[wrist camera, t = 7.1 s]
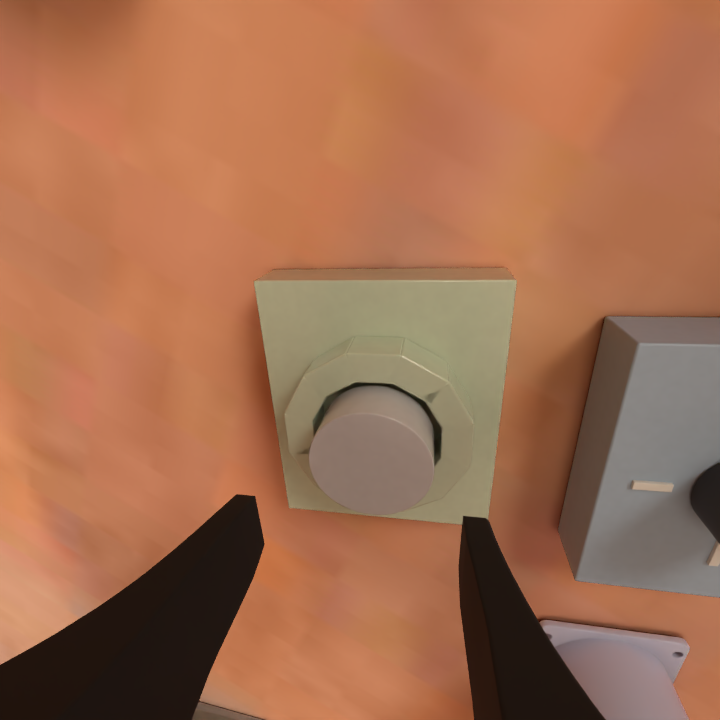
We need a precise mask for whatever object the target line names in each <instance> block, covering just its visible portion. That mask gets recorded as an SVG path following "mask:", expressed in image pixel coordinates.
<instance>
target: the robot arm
mask: <svg viewBox="0 0 720 720" xmlns="http://www.w3.org/2000/svg"><path fill="white" fill-rule="evenodd" d="M263 547H264V539H263V534H262V529H261V524H260V519H259V514H258V509H257V504H256V499H255V496H248V495H238V494H237V495H235V496H234V497H233V498H232V499H231V500H230V501H229V502H227V503H226V504H225V505H224V506H223V507H222V508H221V509H220V510H219V511H217V512H216V513H215V514H214V515H213V516H212V517H211V518H210V519H209V520H207V521H206V522H205V523H204V524H203V525H202V526H201V527H200V528H199V529H197V530H196V531H195V532H194V533H193V534H192V535H191V536H189V537H188V538H187V539H186V540H185V541H184V542H182V543H181V544H180V545H179V546H178V547H177V548H176V549H174V550H173V551H172V552H171V553H170V554H168V555H167V556H166V557H165V558H163V559H162V560H161V561H160V562H158V563H157V564H156V565H155V566H153V567H152V568H151V569H150V570H149V571H147V572H146V573H145V574H143V575H142V576H141V577H140V578H138V579H137V580H136V581H134V582H133V583H132V584H130V585H129V586H127V587H126V588H125V589H123V590H122V591H120V592H119V593H118V594H116V595H115V596H113V597H112V598H110V599H109V600H108V601H106V602H105V603H103V604H102V605H100V606H99V607H97V608H96V609H94V610H93V611H91V612H89V613H88V614H86V615H85V616H83V617H82V618H80V619H78V620H77V621H75V622H74V623H72V624H70V625H69V626H67V627H66V628H64V629H63V630H61V631H59V632H58V633H56V634H54V635H53V636H51V637H49V638H48V639H46V640H44V641H42V642H41V643H39V644H37V645H35V646H34V647H32V648H30V649H28V650H27V651H25V652H23V653H21V654H19V655H18V656H16V657H14V658H12V659H10V660H8V661H7V662H5V663H3V664H1V665H0V720H192V718H193V715H194V713H195V710H196V707H197V704H198V702H199V699H200V696H201V694H202V691H203V688H204V686H205V683H206V680H207V678H208V675H209V673H210V670H211V668H212V666H213V663H214V661H215V659H216V656H217V654H218V652H219V650H220V648H221V646H222V644H223V642H224V639H225V637H226V635H227V633H228V631H229V629H230V627H231V625H232V622H233V620H234V618H235V616H236V614H237V612H238V610H239V608H240V606H241V603H242V601H243V599H244V597H245V595H246V593H247V590H248V588H249V586H250V584H251V582H252V579H253V577H254V574H255V571H256V568H257V566H258V563H259V560H260V557H261V553H262V550H263ZM459 590H460V609H461V617H462V624H463V632H464V640H465V648H466V655H467V663H468V671H469V678H470V686H471V693H472V702H473V712H474V720H689V718H688V716H687V714H686V712H685V710H684V707H683V705H682V703H681V701H680V699H679V697H678V695H677V692H676V690H675V688H674V686H673V682H674V680H675V678H676V676H677V674H678V672H679V670H680V668H681V666H682V664H683V662H684V660H685V658H686V656H687V654H688V652H689V650H690V647H689V645H688V644H687V642H686V640H684V639H683V638H680V637H673V636H666V635H658V634H651V633H643V632H635V631H628V630H620V629H613V628H605V627H598V626H590V625H583V624H575V623H568V622H560V621H553V620H542V621H540V622H539V621H538V620H537V618H536V616H535V615H534V613H533V611H532V610H531V608H530V606H529V604H528V602H527V601H526V599H525V597H524V595H523V593H522V592H521V590H520V588H519V586H518V584H517V582H516V580H515V578H514V577H513V575H512V573H511V571H510V569H509V567H508V565H507V563H506V560H505V558H504V556H503V554H502V552H501V550H500V548H499V545H498V543H497V541H496V538H495V536H494V533H493V531H492V528H491V525H490V522H489V521H488V520H487V519H486V518H482V517H471V516H463V522H462V534H461V545H460V557H459Z"/></svg>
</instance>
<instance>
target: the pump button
mask: <svg viewBox="0 0 720 720" xmlns="http://www.w3.org/2000/svg"><path fill="white" fill-rule="evenodd" d="M309 465H310V470H311V473H312V475H313V477H314V479H315V481H316V483H317V484H318V486H319V487H320V488H321V489H322V491H323V492H324V493H325V494H326V495H327V496H329V497H330V498H331V499H332V500H334V501H335V502H337V503H338V504H340V505H342V506H344V507H346V508H348V509H351V510H353V511H356V512H360V513H364V514H371V515H387V514H394V513H398V512H401V511H404V510H406V509H409V508H410V507H412V506H414V505H415V504H417V503H418V502H419V501H420V500H421V499H422V498H423V497H424V496H425V495H426V494H427V492H428V491H429V489H430V487H431V485H432V482H433V479H434V429H433V425H432V422H431V420H430V418H429V416H428V414H427V413H426V411H425V410H424V409H423V407H422V406H421V405H420V404H419V403H418V402H417V401H415V400H414V399H413V398H412V397H410V396H408V395H407V394H405V393H403V392H401V391H399V390H396V389H393V388H390V387H385V386H378V385H367V386H360V387H356V388H353V389H350V390H348V391H346V392H344V393H342V394H340V395H339V396H338V397H337V398H335V399H334V400H333V401H332V402H331V404H330V405H329V406H328V408H327V410H326V412H325V414H324V416H323V418H322V420H321V423H320V425H319V427H318V429H317V431H316V433H315V436H314V438H313V440H312V442H311V445H310V449H309Z"/></svg>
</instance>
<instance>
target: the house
mask: <svg viewBox="0 0 720 720" xmlns="http://www.w3.org/2000/svg"><path fill="white" fill-rule="evenodd" d="M192 720H262V719H258V718H255V717H251V716H248V715H244V714H240V713H237V712H233V711H230V710H226V709H223V708H219V707H216V706H212V705H209V704H205V703H202V702H198V704H197V707H196V710H195V713H194V715H193V718H192Z"/></svg>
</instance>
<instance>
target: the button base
mask: <svg viewBox="0 0 720 720" xmlns="http://www.w3.org/2000/svg"><path fill="white" fill-rule="evenodd" d="M516 285H517V280H516V279H515V277H514V276H513V275H512V273H511V272H510V271H509V270H508V268H506V267H493V268H376V269H274V270H272V271H270V272H268V273H267V274H265V275H263V276H262V277H260V278H258V279H256V280H255V281H254V286H255V292H256V299H257V305H258V312H259V318H260V325H261V331H262V337H263V344H264V350H265V357H266V363H267V370H268V376H269V383H270V389H271V395H272V402H273V408H274V415H275V421H276V428H277V434H278V441H279V447H280V454H281V460H282V466H283V473H284V479H285V486H286V492H287V499H288V505H289V508H295V509H306V510H316V511H326V512H336V513H346V514H356V515H367V516H377V517H387V518H397V519H407V520H418V521H428V522H438V523H448V524H458V525H462V522H463V516H471V517H482V518H486V519H487V520H488V516H489V508H490V499H491V491H492V483H493V475H494V466H495V458H496V450H497V442H498V433H499V425H500V417H501V409H502V400H503V392H504V384H505V376H506V367H507V359H508V351H509V343H510V334H511V326H512V318H513V310H514V301H515V293H516ZM367 385H378V386H385V387H390V388H393V389H396V390H399V391H401V392H403V393H405V394H407V395H408V396H410V397H412V398H413V399H414V400H415V401H417V402H418V403H419V404H420V405H421V406H422V407H423V409H424V410H425V411H426V413H427V414H428V416H429V418H430V420H431V422H432V425H433V429H434V479H433V482H432V485H431V487H430V489H429V491H428V492H427V494H426V495H425V496H424V497H423V498H422V499H421V500H420V501H419V502H418V503H417V504H415V505H414V506H412V507H410V508H409V509H406V510H404V511H401V512H398V513H394V514H387V515H371V514H364V513H360V512H356V511H353V510H351V509H348V508H346V507H344V506H342V505H340V504H338V503H337V502H335V501H334V500H332V499H331V498H330V497H329V496H327V495H326V494H325V493H324V492H323V491H322V489H321V488H320V487H319V486H318V484H317V483H316V481H315V479H314V477H313V475H312V473H311V470H310V465H309V449H310V445H311V442H312V440H313V438H314V436H315V433H316V431H317V429H318V427H319V425H320V423H321V420H322V418H323V416H324V414H325V412H326V410H327V408H328V406H329V405H330V404H331V402H332V401H333V400H334V399H335V398H337V397H338V396H339V395H340V394H342V393H344V392H346V391H348V390H350V389H353V388H356V387H360V386H367Z"/></svg>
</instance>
